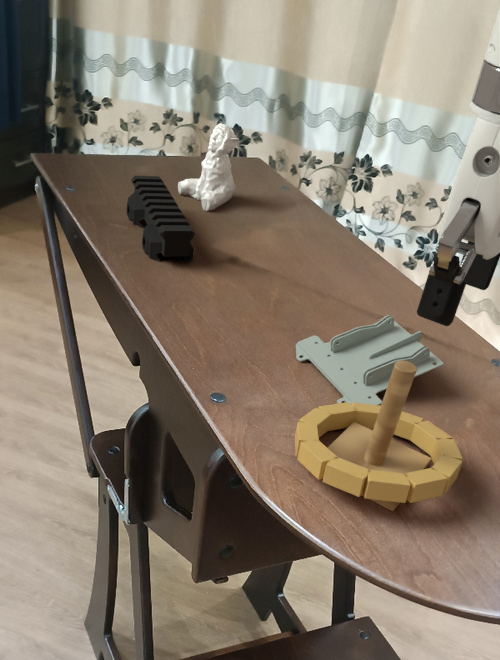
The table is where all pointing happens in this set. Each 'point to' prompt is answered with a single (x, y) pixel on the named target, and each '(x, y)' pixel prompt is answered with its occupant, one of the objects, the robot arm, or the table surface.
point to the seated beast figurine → (214, 171)
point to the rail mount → (159, 219)
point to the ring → (374, 481)
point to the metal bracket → (366, 358)
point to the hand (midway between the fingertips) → (453, 301)
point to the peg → (383, 434)
